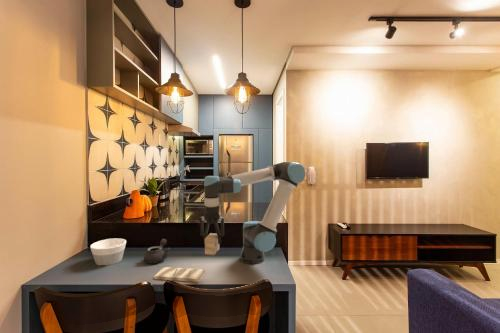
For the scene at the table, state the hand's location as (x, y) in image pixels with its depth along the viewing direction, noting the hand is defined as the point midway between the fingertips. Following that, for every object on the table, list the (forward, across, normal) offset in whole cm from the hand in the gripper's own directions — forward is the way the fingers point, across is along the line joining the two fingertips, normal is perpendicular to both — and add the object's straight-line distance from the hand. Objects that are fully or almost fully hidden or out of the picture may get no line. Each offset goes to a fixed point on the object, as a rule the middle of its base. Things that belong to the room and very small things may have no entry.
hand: (212, 249), depth 135 cm
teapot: (+15, +40, -18) cm, 46 cm away
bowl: (+14, +68, -11) cm, 71 cm away
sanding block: (+1, 0, 0) cm, 1 cm away
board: (+14, +17, +2) cm, 22 cm away
